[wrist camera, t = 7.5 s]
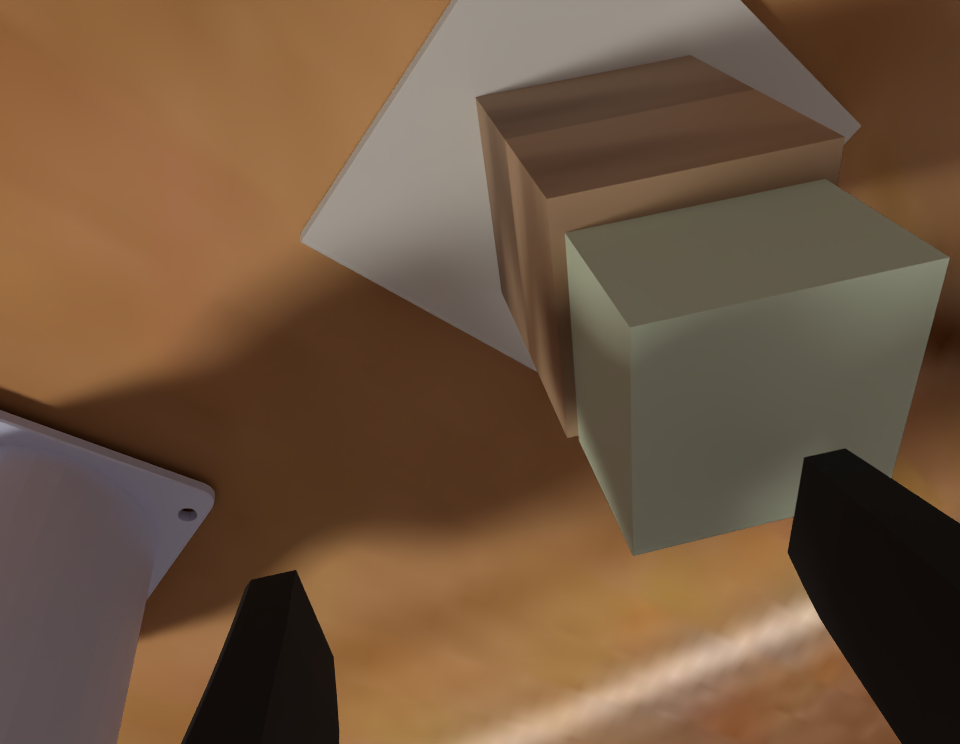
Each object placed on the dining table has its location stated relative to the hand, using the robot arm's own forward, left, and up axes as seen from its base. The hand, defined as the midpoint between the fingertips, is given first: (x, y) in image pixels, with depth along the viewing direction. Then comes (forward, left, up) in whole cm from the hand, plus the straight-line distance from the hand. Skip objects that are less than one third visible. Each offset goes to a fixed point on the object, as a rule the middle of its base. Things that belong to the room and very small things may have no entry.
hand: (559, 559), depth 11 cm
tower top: (+3, -2, -7) cm, 8 cm away
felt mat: (+3, -2, -10) cm, 11 cm away
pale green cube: (+3, -2, -4) cm, 5 cm away
